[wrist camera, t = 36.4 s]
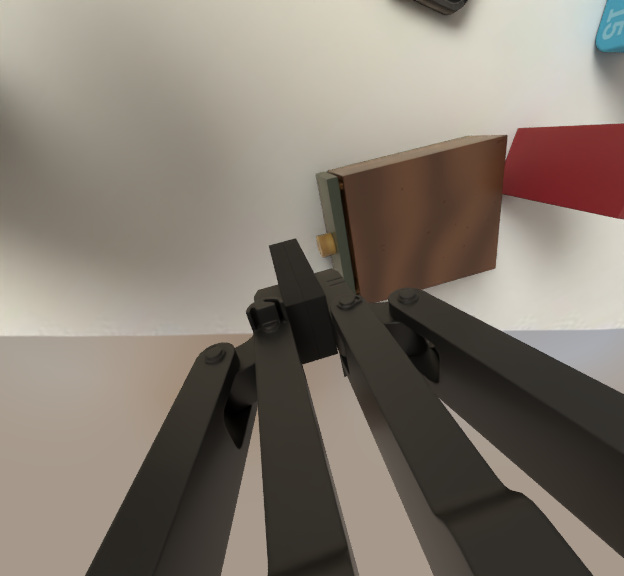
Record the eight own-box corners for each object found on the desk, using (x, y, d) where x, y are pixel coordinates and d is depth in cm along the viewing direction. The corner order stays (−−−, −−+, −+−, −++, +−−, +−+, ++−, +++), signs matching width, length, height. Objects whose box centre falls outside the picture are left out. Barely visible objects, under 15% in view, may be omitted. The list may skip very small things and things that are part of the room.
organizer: (347, 284, 36) (362, 306, 31) (327, 170, 30) (342, 176, 25) (463, 252, 37) (495, 268, 32) (468, 135, 31) (507, 134, 26)
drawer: (325, 292, 35) (336, 312, 31) (301, 177, 29) (310, 183, 25) (459, 254, 36) (486, 269, 32) (462, 137, 30) (496, 137, 26)
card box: (517, 128, 31) (672, 120, 20) (541, 133, 32) (704, 128, 21) (493, 192, 34) (617, 218, 23) (516, 195, 35) (648, 222, 23)
